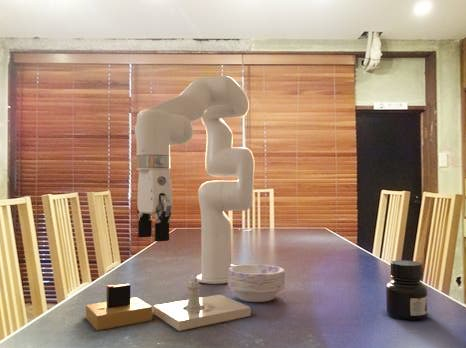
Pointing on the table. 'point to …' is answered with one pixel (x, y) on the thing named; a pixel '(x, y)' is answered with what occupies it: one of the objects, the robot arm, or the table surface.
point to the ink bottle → (406, 291)
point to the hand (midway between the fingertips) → (153, 238)
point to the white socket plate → (201, 312)
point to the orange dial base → (118, 314)
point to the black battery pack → (118, 295)
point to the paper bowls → (256, 281)
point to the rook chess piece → (193, 296)
